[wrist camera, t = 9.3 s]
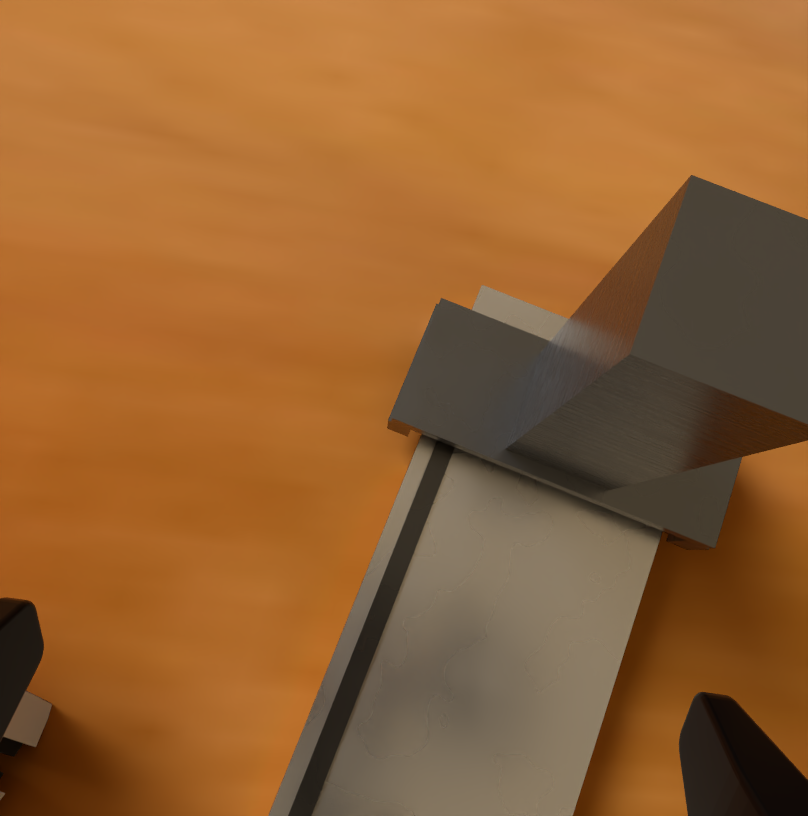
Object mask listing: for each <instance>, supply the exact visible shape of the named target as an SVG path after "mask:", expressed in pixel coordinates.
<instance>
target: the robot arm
mask: <svg viewBox="0 0 808 816" xmlns="http://www.w3.org/2000/svg"><path fill="white" fill-rule="evenodd" d="M43 650H44V642H43V637H42V633H41V629H40V624H39V620H38V616H37V611H36V608H35V605H34V604H33V603H32V602H31V601H28V600H22V599H14V598H0V742H1V740H2V738H3V736H4V734H5V732H6V730H7V728H8V726H9V724H10V722H11V720H12V718H13V716H14V714H15V712H16V710H17V708H18V706H19V704H20V702H21V700H22V698H23V696H24V694H25V692H26V690H27V688H28V685H29V683H30V681H31V679H32V677H33V675H34V673H35V671H36V669H37V667H38V665H39V663H40V661H41V658H42V655H43ZM679 752H680V760H681V767H682V775H683V782H684V789H685V797H686V804H687V811H688V816H808V780H807V779H806V778H805V776H804V775H803V774H802V773H801V772H800V771H799V770H798V769H797V768H796V767H795V765H794V764H793V763H792V762H791V761H790V760H789V759H788V758H787V757H786V756H785V755H784V753H783V752H782V751H781V750H780V749H779V748H778V747H777V746H776V745H775V744H774V742H773V741H772V740H771V739H770V738H769V737H768V736H767V735H766V734H765V733H764V732H763V730H762V729H761V728H760V727H759V726H758V725H757V724H756V723H755V722H754V721H753V719H752V718H751V717H750V716H749V715H748V714H747V713H746V712H745V711H744V710H743V709H742V707H741V706H740V705H739V704H738V703H737V702H736V701H735V700H734V699H732V698H731V697H729V696H726V695H720V694H713V693H706V692H700V693H698V694H697V695H696V696H695V697H694V699H693V701H692V704H691V706H690V709H689V712H688V714H687V717H686V720H685V722H684V725H683V728H682V730H681V734H680V739H679Z"/></svg>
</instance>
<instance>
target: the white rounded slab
mask: <svg viewBox="0 0 808 816" xmlns="http://www.w3.org/2000/svg"><path fill="white" fill-rule="evenodd" d="M51 707H52V704H51V703H49V702H47V701H46V700H44V699H42V698H40V697H38V696H36V695H34V694H32V693H30V692H28V691H26V692H25V694H24V696H23V698H22V700H21V702H20V704H19V706H18V708H17V710H16V712H15V714H14V716H13V718H12V720H11V722H10V724H9V726H8V728H7V730H6V732H5V734H4V736H3V738H2V740H1V742H0V753H3V754H6V755H10V756H13V757H14V756H15V755H16V754H17V752H18V751H19V749H20V748H21V746H22V745H23V743H24V744H27V745H30V746H33V747H36V746H37V743H38V741H39V739H40V736H41V734H42V732H43V729H44V727H45V725H46V722H47V720H48V717H49V714H50V710H51ZM2 775H3V772H1V771H0V778H1V776H2ZM4 795H5V793H3V792H1V791H0V800H1V798H2V797H3V796H4Z"/></svg>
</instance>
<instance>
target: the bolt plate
mask: <svg viewBox="0 0 808 816" xmlns="http://www.w3.org/2000/svg"><path fill="white" fill-rule="evenodd" d="M472 310H473V311H475V312H478V313H480V314H483V315H485V316H488V317H490V318H493V319H496V320H498V321H501V322H503V323H506V324H508V325H511V326H513V327H516V328H518V329H521V330H523V331H526V332H528V333H531V334H533V335H536V336H538V337H541V338H544V339H546V340H549V341H551V340H552V339H553V337H554V336H555V335H556V334H557V333H558V331H559V330H560V329H561V328H562V327H563V326H564V324H565V323H566V322H567V321H568V320H569V319H567V318H565V317H562V316H560V315H557V314H555V313H552V312H549V311H547V310H544V309H542V308H539V307H537V306H534V305H532V304H529V303H527V302H524V301H522V300H519V299H517V298H514V297H511V296H509V295H506V294H504V293H501V292H499V291H496V290H494V289H491V288H489V287H486V286H484V285H482V286H481V289H480V291H479V294H478V296H477V298H476V301H475V303H474V306H473V308H472ZM661 534H662V531H661V530H659V529H656V528H654V527H651V526H649V525H646V524H644V523H641V522H639V521H636V520H634V519H631V518H629V517H626V516H624V515H621V514H619V513H616V512H614V511H611V510H609V509H607V508H604V507H602V506H599V505H597V504H594V503H592V502H589V501H587V500H584V499H582V498H579V497H577V496H574V495H572V494H569V493H567V492H564V491H562V490H559V489H557V488H555V487H552V486H550V485H547V484H545V483H542V482H540V481H537V480H535V479H532V478H530V477H527V476H525V475H522V474H520V473H517V472H515V471H512V470H510V469H507V468H505V467H503V466H500V465H498V464H495V463H493V462H490V461H488V460H485V459H483V458H480V457H478V456H475V455H473V454H470V453H468V452H465V451H463V450H460V449H458V448H455V447H453V446H450V445H448V444H446V443H443V442H441V441H438V440H436V439H433V438H431V437H428V436H426V435H423V434H422V435H421V438H420V440H419V443H418V445H417V448H416V450H415V453H414V455H413V458H412V460H411V463H410V465H409V467H408V470H407V472H406V475H405V477H404V480H403V482H402V485H401V487H400V490H399V492H398V495H397V497H396V500H395V502H394V505H393V507H392V510H391V512H390V515H389V517H388V520H387V522H386V525H385V527H384V530H383V532H382V535H381V537H380V540H379V542H378V545H377V547H376V550H375V552H374V555H373V557H372V560H371V562H370V565H369V567H368V569H367V572H366V574H365V577H364V579H363V582H362V584H361V587H360V589H359V592H358V594H357V597H356V599H355V602H354V604H353V607H352V609H351V612H350V614H349V617H348V619H347V622H346V624H345V627H344V629H343V632H342V634H341V637H340V639H339V642H338V644H337V647H336V649H335V652H334V654H333V657H332V659H331V662H330V664H329V666H328V669H327V671H326V674H325V676H324V679H323V681H322V684H321V686H320V689H319V691H318V694H317V696H316V699H315V701H314V704H313V706H312V709H311V711H310V714H309V716H308V719H307V721H306V724H305V726H304V729H303V731H302V734H301V736H300V739H299V741H298V744H297V746H296V749H295V751H294V754H293V756H292V759H291V761H290V764H289V766H288V768H287V771H286V773H285V776H284V778H283V781H282V783H281V786H280V788H279V791H278V793H277V796H276V798H275V801H274V803H273V806H272V808H271V811H270V813H269V816H573V813H574V810H575V807H576V804H577V801H578V797H579V794H580V791H581V788H582V785H583V782H584V778H585V775H586V772H587V769H588V766H589V763H590V759H591V756H592V753H593V750H594V747H595V743H596V740H597V737H598V734H599V731H600V728H601V724H602V721H603V718H604V715H605V712H606V709H607V705H608V702H609V699H610V696H611V693H612V690H613V686H614V683H615V680H616V677H617V674H618V671H619V667H620V664H621V661H622V658H623V655H624V652H625V648H626V645H627V642H628V639H629V636H630V633H631V629H632V626H633V623H634V620H635V617H636V613H637V610H638V607H639V604H640V601H641V598H642V594H643V591H644V588H645V585H646V582H647V579H648V575H649V572H650V569H651V566H652V563H653V560H654V556H655V553H656V550H657V547H658V544H659V541H660V537H661Z"/></svg>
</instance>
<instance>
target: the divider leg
mask: <svg viewBox="0 0 808 816" xmlns="http://www.w3.org/2000/svg"><path fill="white" fill-rule="evenodd" d="M387 428H388V429H390V430H393V431H395V432H398V433H400V434H402V435H405V436H407V437H408V434H409V432H410V429H411V430H413V431H416V432H418V433H421V434H423V435H426V436H428V437H431V438H433V439H436V440H438V441H441V442H443V443H446V444H448V445H450V446H453V447H455V448H458V449H460V450H463V451H465V452H468V453H470V454H473V455H475V456H478V457H480V458H483V459H485V460H488V461H490V462H493V463H495V464H498V465H500V466H503V467H505V468H507V469H510V470H512V471H515V472H517V473H520V474H522V475H525V476H527V477H530V478H532V479H535V480H537V481H540V482H542V483H545V484H547V485H550V486H552V487H555V488H557V489H559V490H562V491H564V492H567V493H569V494H572V495H574V496H577V497H579V498H582V499H584V500H587V501H589V502H592V503H594V504H597V505H599V506H602V507H604V508H607V509H609V510H611V511H614V512H616V513H619V514H621V515H624V516H626V517H629V518H631V519H634V520H636V521H639V522H641V523H644V524H646V525H649V526H651V527H654V528H656V529H659V530H661V531H664V532H666V533H668V538H667V542H670V543H672V544H675V545H677V546H680V547H682V548H685V549H687V550H708V549H709V548H715V547H716V543H717V540H718V537H719V533H720V530H721V527H722V523H723V520H724V516H725V513H726V510H727V506H728V503H729V500H730V496H731V493H732V490H733V486H734V483H735V479H736V476H737V473H738V469H739V466H740V463H741V459H742V457H743V456H747V455H751V454H755V453H759V452H763V451H767V450H771V449H775V448H779V447H783V446H787V445H791V444H795V443H799V442H803V441H807V440H808V220H807V219H805V218H802V217H800V216H797V215H794V214H792V213H789V212H787V211H784V210H781V209H779V208H776V207H774V206H771V205H768V204H766V203H763V202H761V201H758V200H755V199H753V198H750V197H748V196H745V195H742V194H740V193H737V192H735V191H732V190H729V189H727V188H724V187H722V186H719V185H716V184H714V183H711V182H708V181H706V180H703V179H701V178H698V177H695V176H693V175H691V176H690V177H689V178H688V180H687V181H686V182H685V183H684V184H683V185H682V187H681V188H680V189H679V190H678V191H677V193H676V194H675V195H674V196H673V197H672V198H671V200H670V201H669V202H668V203H667V204H666V205H665V207H664V208H663V209H662V210H661V211H660V213H659V214H658V215H657V216H656V217H655V218H654V220H653V221H652V222H651V223H650V224H649V225H648V227H647V228H646V229H645V230H644V231H643V233H642V234H641V235H640V236H639V237H638V238H637V240H636V241H635V242H634V243H633V244H632V246H631V247H630V248H629V249H628V250H627V251H626V253H625V254H624V255H623V256H622V257H621V258H620V260H619V261H618V262H617V263H616V264H615V266H614V267H613V268H612V269H611V270H610V271H609V273H608V274H607V275H606V276H605V277H604V278H603V280H602V281H601V282H600V283H599V284H598V286H597V287H596V288H595V289H594V290H593V291H592V293H591V294H590V295H589V296H588V297H587V299H586V300H585V301H584V302H583V303H582V304H581V306H580V307H579V308H578V309H577V310H576V311H575V313H574V314H573V315H572V316H571V317H570V319H569V320H568V321H567V322H566V323H565V324H564V326H563V327H562V328H561V329H560V330H559V331H558V333H557V334H556V335H555V336H554V337H553V339H552V340H551V341H549V340H546V339H544V338H541V337H538V336H536V335H533V334H531V333H528V332H526V331H523V330H521V329H518V328H516V327H513V326H511V325H508V324H506V323H503V322H501V321H498V320H496V319H493V318H490V317H488V316H485V315H483V314H480V313H478V312H475V311H473V310H470V309H468V308H465V307H463V306H460V305H458V304H455V303H453V302H450V301H448V300H445V299H442V298H441V300H440V303H439V304H436V306H435V309H434V311H433V313H432V316H431V318H430V321H429V323H428V326H427V328H426V330H425V333H424V335H423V338H422V340H421V342H420V345H419V347H418V350H417V352H416V354H415V357H414V359H413V362H412V364H411V367H410V369H409V371H408V374H407V376H406V379H405V381H404V383H403V386H402V388H401V391H400V393H399V395H398V398H397V400H396V403H395V405H394V408H393V410H392V412H391V415H390V417H389V420H388V426H387Z"/></svg>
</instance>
